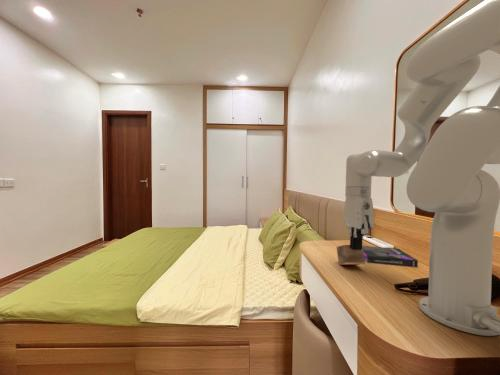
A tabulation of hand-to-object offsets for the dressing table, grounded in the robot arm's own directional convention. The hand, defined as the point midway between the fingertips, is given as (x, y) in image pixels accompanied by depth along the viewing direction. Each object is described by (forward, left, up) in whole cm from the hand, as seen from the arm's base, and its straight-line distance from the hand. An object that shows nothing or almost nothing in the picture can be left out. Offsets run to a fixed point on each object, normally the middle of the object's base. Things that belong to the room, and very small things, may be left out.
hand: (355, 249), depth 72 cm
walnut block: (+2, 0, -6) cm, 6 cm away
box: (+12, -17, -8) cm, 22 cm away
